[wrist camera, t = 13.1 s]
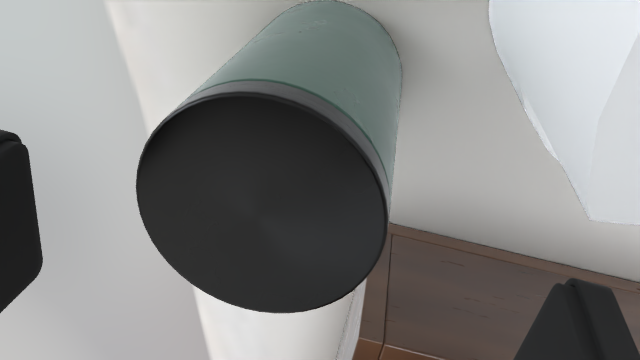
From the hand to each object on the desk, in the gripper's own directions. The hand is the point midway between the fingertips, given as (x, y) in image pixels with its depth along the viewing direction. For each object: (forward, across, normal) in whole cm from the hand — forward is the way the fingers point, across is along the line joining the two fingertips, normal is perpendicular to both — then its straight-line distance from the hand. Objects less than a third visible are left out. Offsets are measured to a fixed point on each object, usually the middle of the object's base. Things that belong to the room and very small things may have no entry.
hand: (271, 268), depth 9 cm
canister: (+12, +1, +1) cm, 12 cm away
